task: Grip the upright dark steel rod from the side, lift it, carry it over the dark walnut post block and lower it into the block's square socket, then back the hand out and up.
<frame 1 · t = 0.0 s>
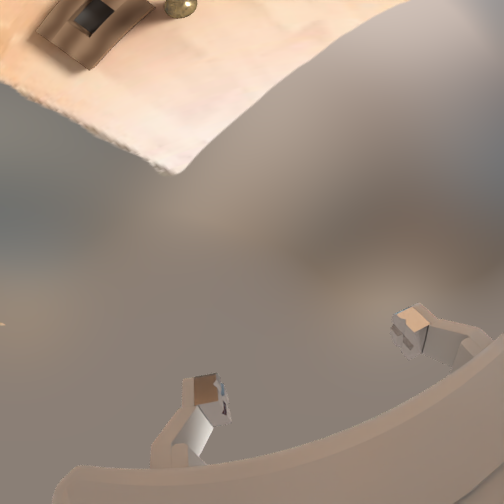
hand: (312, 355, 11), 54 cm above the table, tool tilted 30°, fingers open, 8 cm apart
post block: (97, 15, 29), on the table
steel rod: (179, 8, 33), on the table
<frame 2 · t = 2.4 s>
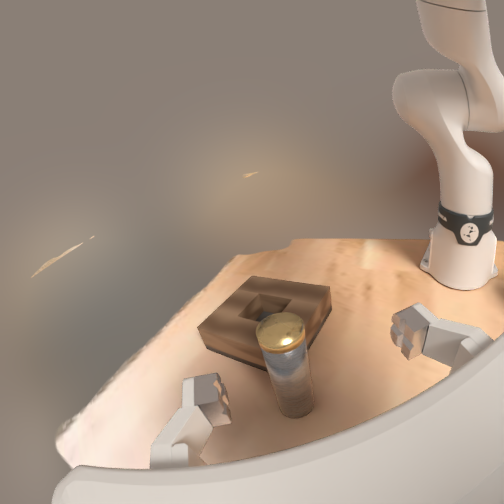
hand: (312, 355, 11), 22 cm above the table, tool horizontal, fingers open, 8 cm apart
post block: (270, 330, 46), on the table
steel rod: (296, 403, 31), on the table
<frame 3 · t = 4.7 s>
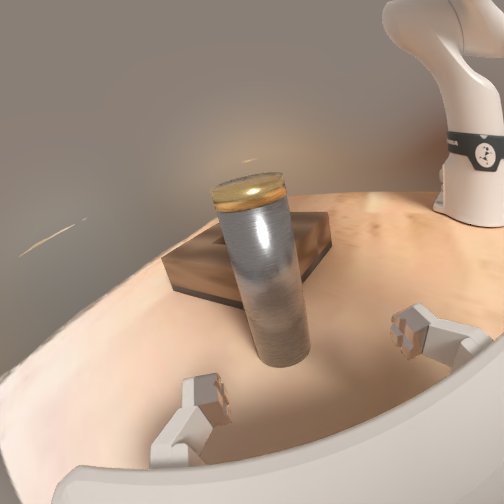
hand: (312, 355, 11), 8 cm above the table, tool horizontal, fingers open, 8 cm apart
post block: (254, 268, 37), on the table
steel rod: (284, 347, 22), on the table
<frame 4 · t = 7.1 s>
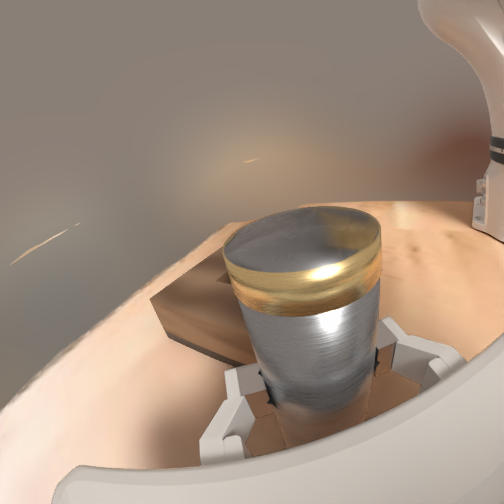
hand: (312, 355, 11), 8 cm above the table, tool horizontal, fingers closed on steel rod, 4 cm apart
post block: (272, 309, 28), on the table
steel rod: (324, 444, 13), on the table, touching gripper
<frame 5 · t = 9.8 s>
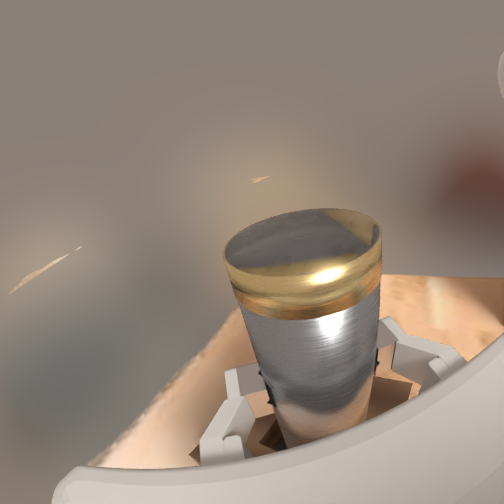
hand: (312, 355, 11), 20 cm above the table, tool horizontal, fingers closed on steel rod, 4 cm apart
post block: (310, 448, 23), on the table
steel rod: (324, 444, 13), point 12 cm above the table, touching gripper
when the fingers open (10 cm above the table, at t = 12.9 s): steel rod drops 1 cm, resting on post block.
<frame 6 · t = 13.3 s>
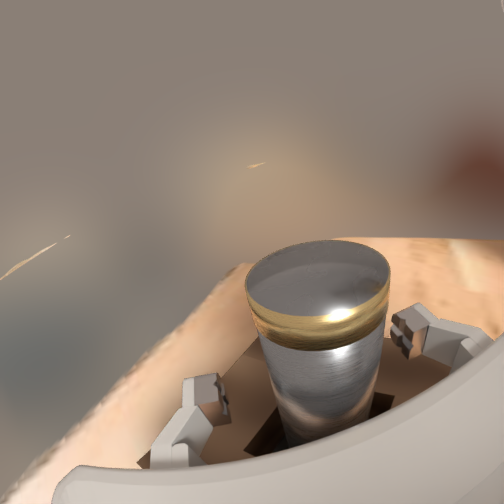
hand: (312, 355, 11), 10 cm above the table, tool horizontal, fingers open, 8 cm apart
post block: (324, 456, 14), on the table
steel rod: (325, 451, 14), point 1 cm above the table, touching post block
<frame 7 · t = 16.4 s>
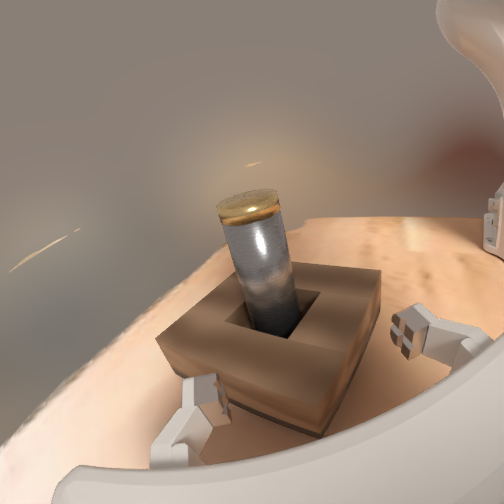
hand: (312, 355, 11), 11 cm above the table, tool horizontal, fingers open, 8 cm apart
post block: (282, 345, 26), on the table
steel rod: (281, 338, 26), point 1 cm above the table, touching post block
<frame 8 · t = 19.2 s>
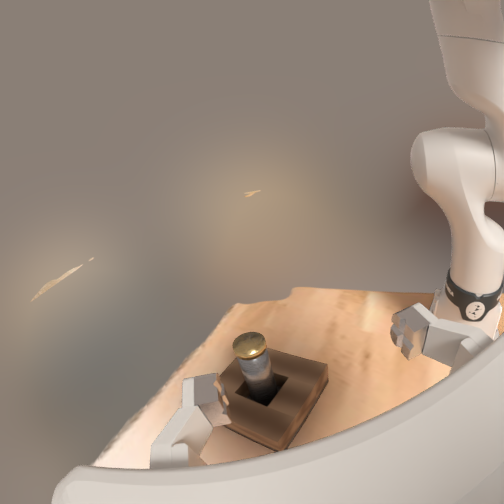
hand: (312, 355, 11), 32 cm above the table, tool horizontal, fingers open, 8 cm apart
post block: (267, 401, 43), on the table
steel rod: (266, 398, 42), point 1 cm above the table, touching post block
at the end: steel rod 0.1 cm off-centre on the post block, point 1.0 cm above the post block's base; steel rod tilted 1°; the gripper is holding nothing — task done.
